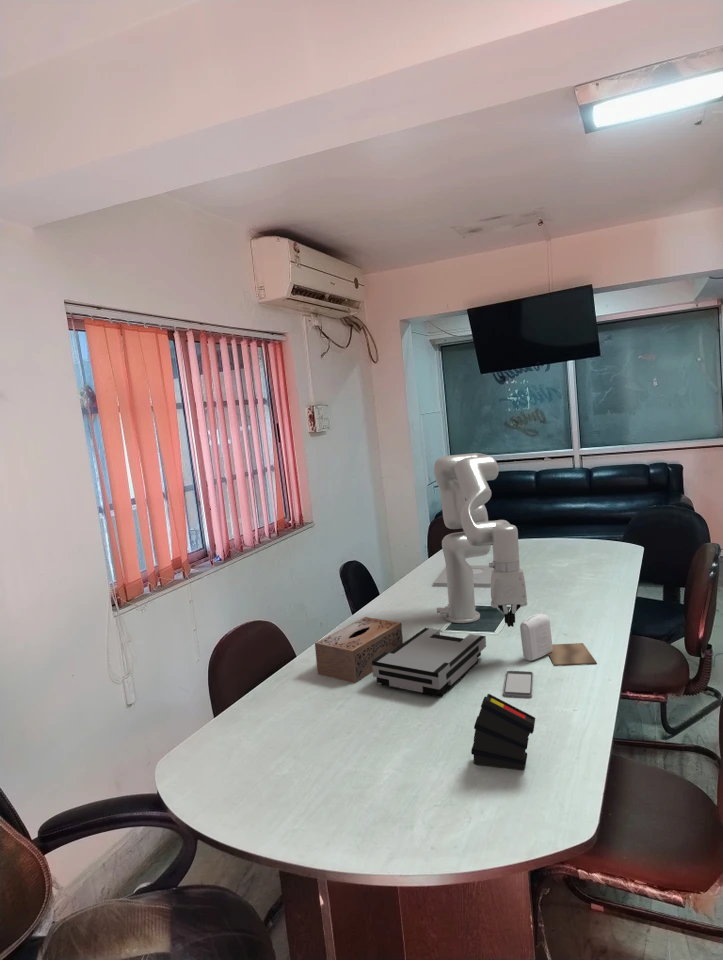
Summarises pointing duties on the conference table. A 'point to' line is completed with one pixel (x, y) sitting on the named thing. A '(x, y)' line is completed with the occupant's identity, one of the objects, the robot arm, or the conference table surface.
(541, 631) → the photo printer
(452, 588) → the robot arm
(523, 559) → the conference table surface
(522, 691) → the smartphone
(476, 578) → the award plaque
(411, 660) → the game console
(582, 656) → the board
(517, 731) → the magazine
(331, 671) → the tissue box cover
